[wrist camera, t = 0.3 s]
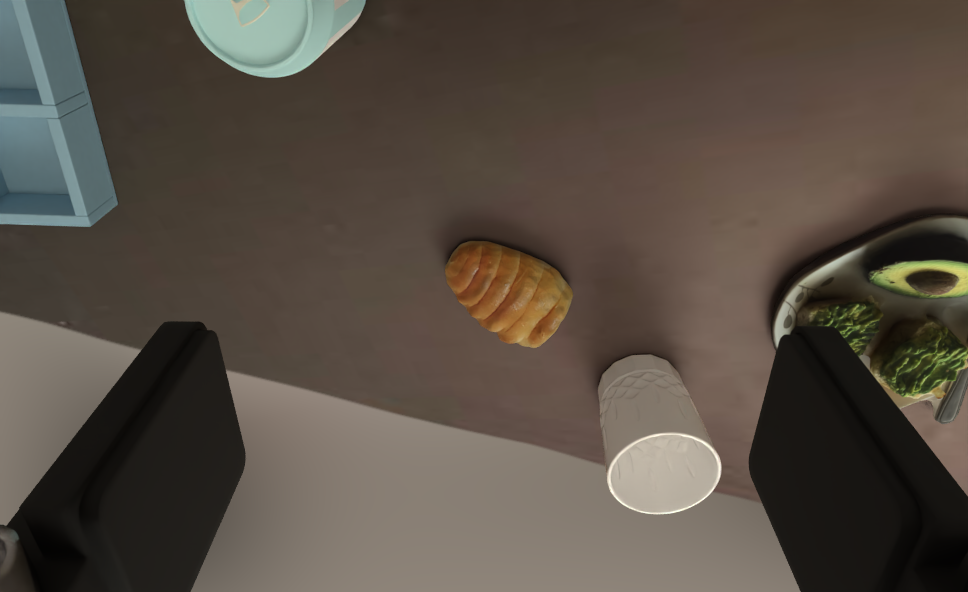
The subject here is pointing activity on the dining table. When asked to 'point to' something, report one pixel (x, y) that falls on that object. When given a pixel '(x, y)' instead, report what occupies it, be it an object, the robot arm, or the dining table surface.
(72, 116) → the four compartment organizer
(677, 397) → the white cup
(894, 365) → the salad plate
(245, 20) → the can
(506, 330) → the pastry
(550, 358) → the dining table surface
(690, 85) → the dining table surface
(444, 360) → the dining table surface
